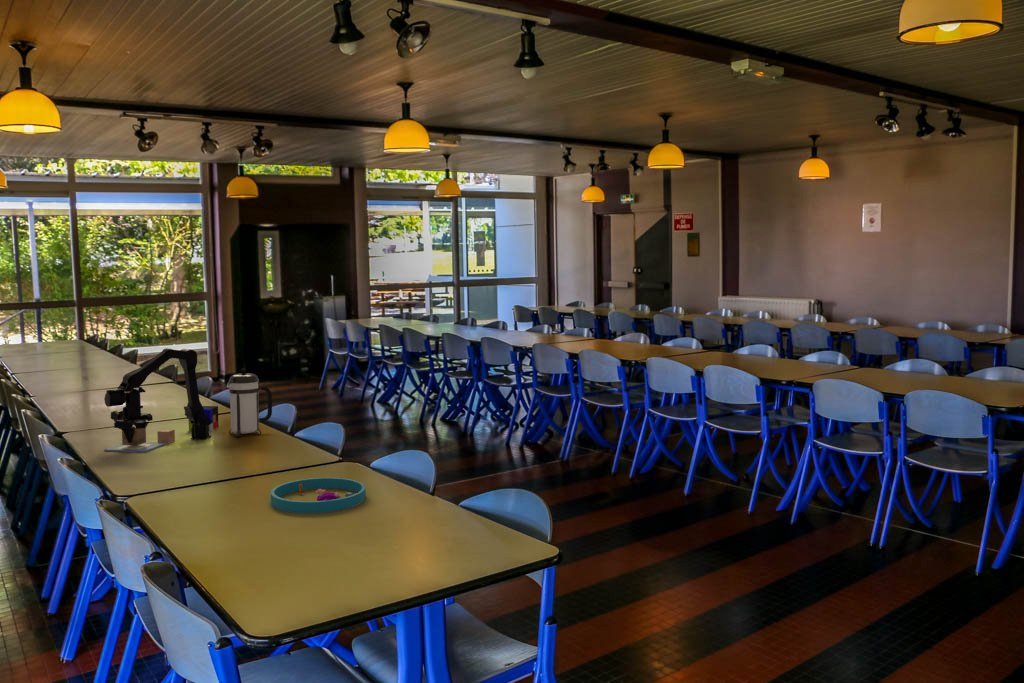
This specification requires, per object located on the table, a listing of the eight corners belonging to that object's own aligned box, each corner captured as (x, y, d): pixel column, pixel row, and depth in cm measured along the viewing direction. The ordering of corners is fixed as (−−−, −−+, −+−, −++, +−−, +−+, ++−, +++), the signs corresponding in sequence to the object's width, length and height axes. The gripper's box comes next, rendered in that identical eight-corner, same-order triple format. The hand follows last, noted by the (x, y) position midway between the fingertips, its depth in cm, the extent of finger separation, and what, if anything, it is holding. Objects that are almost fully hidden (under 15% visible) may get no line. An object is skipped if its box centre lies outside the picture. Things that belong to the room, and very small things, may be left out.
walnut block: (146, 442, 346) (145, 428, 345) (137, 445, 339) (136, 431, 339) (131, 441, 347) (131, 427, 346) (122, 445, 340) (121, 430, 340)
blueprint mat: (166, 444, 351) (166, 442, 351) (145, 452, 335) (145, 450, 335) (127, 443, 353) (126, 441, 353) (104, 451, 337) (104, 449, 337)
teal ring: (291, 520, 248) (291, 501, 248) (257, 497, 273) (257, 480, 272) (381, 504, 266) (381, 486, 266) (342, 484, 290) (342, 467, 290)
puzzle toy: (210, 431, 380) (209, 409, 379) (188, 431, 380) (188, 409, 379) (218, 427, 390) (218, 406, 389) (197, 427, 390) (196, 405, 389)
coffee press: (254, 438, 364) (252, 370, 361) (221, 436, 367) (219, 369, 364) (273, 430, 381) (271, 366, 378) (241, 429, 384) (239, 365, 381)
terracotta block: (174, 440, 358) (174, 429, 358) (168, 443, 354) (168, 431, 353) (164, 440, 359) (163, 429, 359) (157, 443, 354) (157, 431, 354)
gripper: (127, 399, 352) (129, 436, 353) (100, 407, 333) (102, 445, 335) (152, 400, 350) (153, 436, 352) (126, 407, 332) (128, 446, 333)
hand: (134, 441), depth 343 cm, fingers closed on walnut block, 6 cm apart
